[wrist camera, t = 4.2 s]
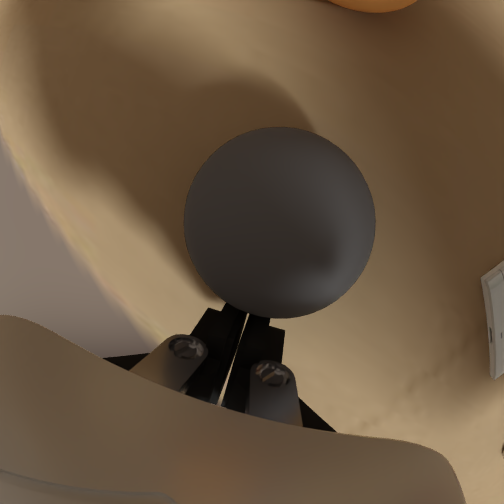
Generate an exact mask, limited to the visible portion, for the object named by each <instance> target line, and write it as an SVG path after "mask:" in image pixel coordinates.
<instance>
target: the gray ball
mask: <svg viewBox="0 0 504 504" xmlns="http://www.w3.org/2000/svg"><path fill="white" fill-rule="evenodd" d="M375 222H376V220H375V209H374V204H373V200H372V196H371V193H370V190H369V188H368V185H367V183H366V181H365V179H364V177H363V175H362V173H361V172H360V170H359V169H358V167H357V166H356V165H355V163H354V162H353V161H352V160H351V159H350V158H349V156H348V155H347V154H346V153H344V152H343V151H342V150H341V149H340V148H339V147H337V146H336V145H334V144H333V143H332V142H330V141H329V140H327V139H325V138H323V137H321V136H319V135H316V134H314V133H311V132H308V131H305V130H301V129H296V128H288V127H270V128H262V129H258V130H253V131H250V132H247V133H245V134H242V135H240V136H238V137H236V138H234V139H232V140H230V141H228V142H227V143H225V144H224V145H223V146H221V147H220V148H219V149H218V150H217V151H215V152H214V153H213V154H212V155H211V156H210V157H209V159H208V160H207V161H206V162H205V163H204V164H203V166H202V167H201V169H200V170H199V172H198V173H197V175H196V176H195V178H194V180H193V183H192V185H191V187H190V190H189V193H188V196H187V200H186V205H185V212H184V234H185V240H186V245H187V249H188V252H189V254H190V257H191V260H192V262H193V264H194V266H195V268H196V270H197V271H198V273H199V275H200V276H201V278H202V279H203V280H204V282H205V283H206V284H207V285H208V286H209V288H210V289H211V290H212V291H213V292H214V293H215V294H216V295H218V296H219V297H220V298H221V299H223V300H224V301H225V302H227V303H229V304H230V305H232V306H233V307H235V308H237V309H239V310H242V311H244V312H246V313H249V314H253V315H256V316H260V317H266V318H294V317H300V316H304V315H308V314H311V313H314V312H316V311H318V310H321V309H323V308H325V307H327V306H328V305H330V304H332V303H333V302H335V301H336V300H337V299H339V298H340V297H341V296H342V295H343V294H345V293H346V292H347V291H348V289H349V288H350V287H351V286H352V285H353V284H354V283H355V282H356V280H357V279H358V277H359V276H360V274H361V273H362V272H363V270H364V268H365V266H366V264H367V262H368V259H369V256H370V254H371V251H372V247H373V242H374V236H375Z"/></svg>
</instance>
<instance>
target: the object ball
mask: <svg viewBox="0 0 504 504" xmlns="http://www.w3.org/2000/svg"><path fill="white" fill-rule="evenodd" d="M328 1H330V2H332V3H335V4H337V5H339V6H342V7H345V8H348V9H352V10H356V11H361V12H371V13H385V12H391V11H396V10H400V9H403V8H405V7H407V6H409V5H411V4H413V3H414V2H416V1H417V0H328Z"/></svg>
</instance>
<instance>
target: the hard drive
mask: <svg viewBox="0 0 504 504" xmlns="http://www.w3.org/2000/svg"><path fill="white" fill-rule="evenodd" d="M480 279H481V284H482V290H483V296H484V302H485V309H486V317H487V327H488V339H489V354H490V376H491V377H492V379H494V380H495V379H497V378H498V377H499V376H501V375H502V374H504V260H503V261H502V262H501V263H499V264H498V265H497V266H496V267H494V268H493V269H491V270H490V271H489V272H487V273H486V274H485V275H483V276H482V277H481V278H480Z"/></svg>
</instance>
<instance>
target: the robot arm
mask: <svg viewBox="0 0 504 504" xmlns="http://www.w3.org/2000/svg"><path fill="white" fill-rule="evenodd" d="M246 316H247V313H246V312H244V311H242V310H239V309H237V308H235V307H233V306H232V305H230V304H229V303H227V302H226V304H225V305H224V307H223V309H222V311H218V310H215V309H211V308H208V309H207V310H206V312H205V313H204V315H203V316H202V318H201V319H200V321H199V322H198V324H197V325H196V327H195V328H194V330H193V331H192V333H191V334H190V335H184V334H180V335H173V336H171V337H169V338H167V339H166V340H165V341H164V342H162V343H161V344H160V345H159V346H158V347H156V348H155V349H154V350H153V351H152V352H151V353H145V354H138V355H128V356H120V357H108V358H100V357H98V356H96V355H95V354H93V353H91V352H89V351H87V350H85V349H83V348H82V347H80V346H78V345H76V344H75V343H73V342H71V341H69V340H67V339H65V338H64V337H62V336H60V335H58V334H57V333H55V332H53V331H51V330H49V329H47V328H45V327H43V326H41V325H39V324H37V323H35V322H32V321H29V320H27V319H23V318H20V317H16V316H10V315H0V504H466V501H465V498H464V494H463V491H462V488H461V486H460V483H459V481H458V478H457V476H456V474H455V471H454V470H453V468H452V466H451V464H450V463H449V461H448V460H447V459H446V458H445V457H444V456H443V455H442V454H440V453H438V452H437V451H435V450H433V449H431V448H428V447H425V446H422V445H419V444H415V443H411V442H407V441H402V440H395V439H388V438H377V437H368V436H360V435H352V434H343V433H337V432H336V431H335V430H334V429H333V428H332V427H331V426H329V425H328V424H327V423H326V422H325V421H324V420H323V419H322V418H321V417H319V416H318V415H317V414H316V413H315V412H314V411H313V410H312V409H311V408H310V407H309V406H307V405H306V404H305V403H304V402H303V401H302V400H301V399H300V398H299V397H298V393H297V387H296V381H295V377H294V374H293V372H292V371H291V370H290V369H289V368H288V367H286V366H285V365H283V364H281V363H282V355H283V346H284V337H285V330H282V329H279V328H275V327H271V326H269V323H270V318H266V317H260V316H256V315H253V314H249V317H248V320H247V323H246V325H245V328H244V331H243V334H242V330H243V326H244V323H245V319H246ZM241 334H242V336H241ZM240 337H241V339H240ZM239 341H240V342H239ZM238 344H239V345H238ZM236 351H237V352H236ZM235 354H236V355H235ZM234 356H235V359H234ZM233 359H234V362H233ZM232 362H233V366H232V369H231V373H230V376H229V380H228V383H227V387H226V390H225V394H224V397H223V401H222V404H221V406H222V407H220V406H217V405H216V404H217V402H218V399H219V397H220V394H221V391H222V389H223V386H224V383H225V381H226V378H227V375H228V373H229V370H230V367H231V364H232ZM211 403H212V404H211ZM213 404H215V405H213ZM223 407H225V408H223ZM503 458H504V451H503Z"/></svg>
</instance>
